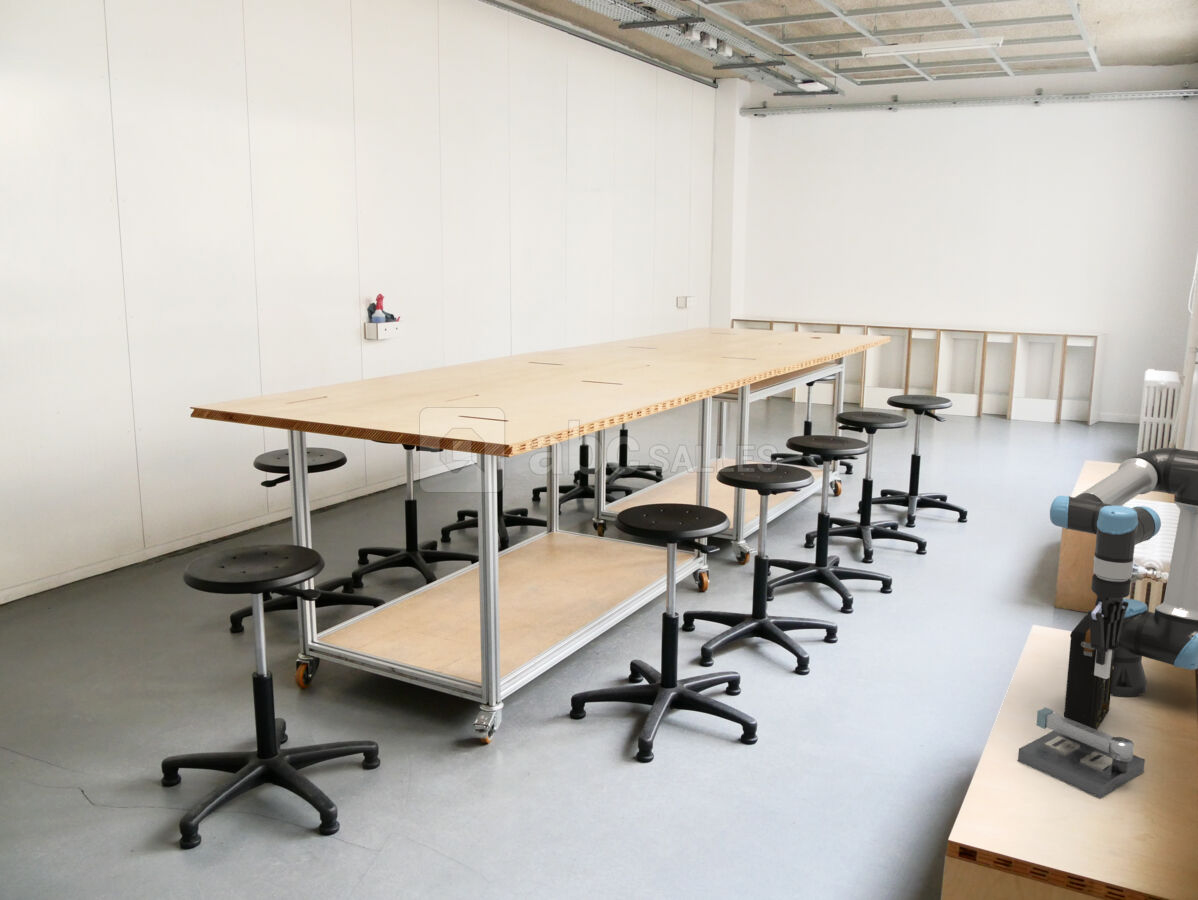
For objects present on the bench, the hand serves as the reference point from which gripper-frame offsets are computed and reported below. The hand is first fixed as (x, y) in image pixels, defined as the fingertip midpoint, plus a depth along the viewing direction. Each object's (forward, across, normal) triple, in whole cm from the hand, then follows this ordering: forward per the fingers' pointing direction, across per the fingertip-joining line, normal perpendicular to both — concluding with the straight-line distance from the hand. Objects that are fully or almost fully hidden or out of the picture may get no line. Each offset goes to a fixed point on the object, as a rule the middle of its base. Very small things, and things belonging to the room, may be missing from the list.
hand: (1101, 676), depth 214 cm
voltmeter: (+20, -16, -10) cm, 28 cm away
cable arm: (+14, +7, +1) cm, 15 cm away
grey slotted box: (+20, +6, 0) cm, 21 cm away
